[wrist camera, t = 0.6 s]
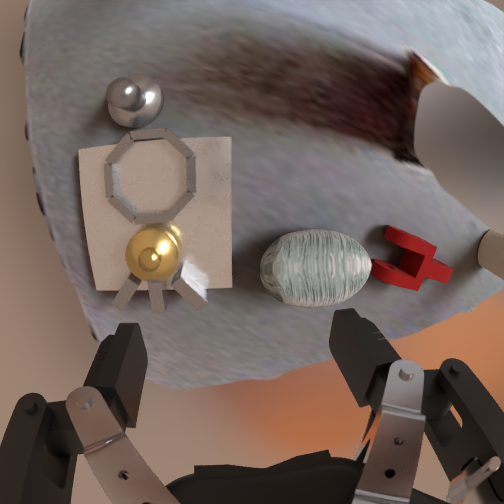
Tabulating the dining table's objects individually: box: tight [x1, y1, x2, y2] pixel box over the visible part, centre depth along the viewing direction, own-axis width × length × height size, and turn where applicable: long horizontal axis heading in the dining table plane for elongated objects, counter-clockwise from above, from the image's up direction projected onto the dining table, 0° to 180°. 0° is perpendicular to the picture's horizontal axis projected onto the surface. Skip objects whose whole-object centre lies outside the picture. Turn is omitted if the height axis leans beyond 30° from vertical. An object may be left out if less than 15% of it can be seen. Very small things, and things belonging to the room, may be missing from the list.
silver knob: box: [106, 74, 164, 128], centre depth 25 cm, size 6×6×7 cm
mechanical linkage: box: [370, 225, 453, 291], centre depth 38 cm, size 16×7×5 cm, turn 73°
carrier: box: [79, 128, 232, 313], centre depth 30 cm, size 21×18×6 cm
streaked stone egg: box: [260, 229, 372, 308], centre depth 34 cm, size 14×10×10 cm
